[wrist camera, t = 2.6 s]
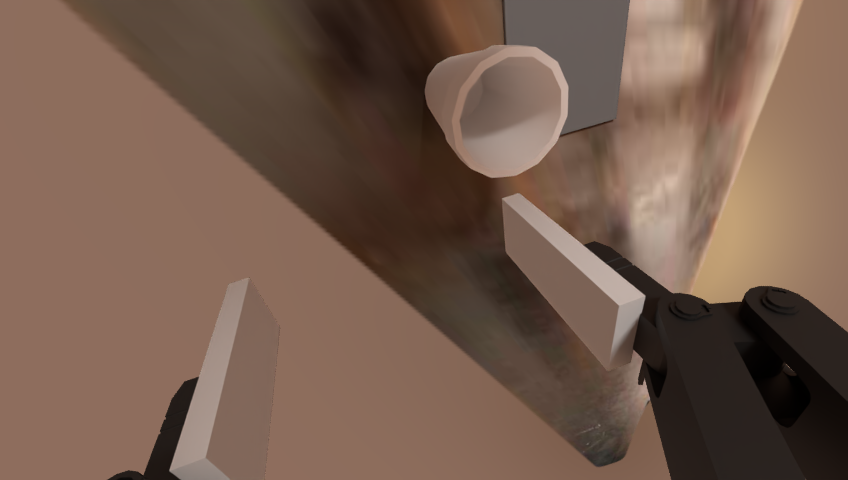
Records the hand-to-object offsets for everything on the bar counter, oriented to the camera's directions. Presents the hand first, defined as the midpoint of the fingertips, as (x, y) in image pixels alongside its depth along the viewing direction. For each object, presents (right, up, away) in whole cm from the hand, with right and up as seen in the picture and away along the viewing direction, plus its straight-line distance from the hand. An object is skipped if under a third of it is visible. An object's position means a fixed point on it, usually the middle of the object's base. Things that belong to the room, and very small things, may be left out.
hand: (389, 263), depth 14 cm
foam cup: (+4, +17, +23) cm, 29 cm away
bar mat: (+17, +20, +24) cm, 36 cm away
